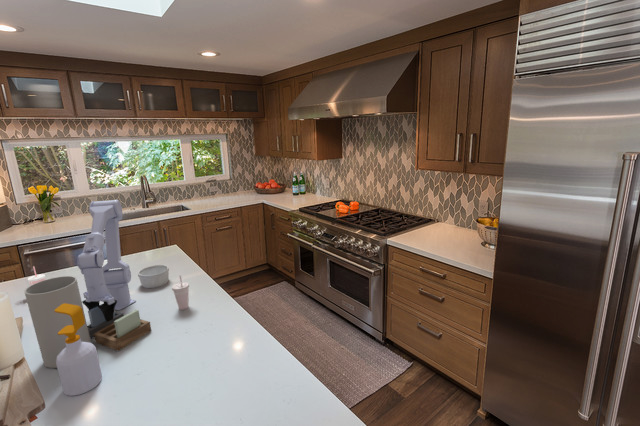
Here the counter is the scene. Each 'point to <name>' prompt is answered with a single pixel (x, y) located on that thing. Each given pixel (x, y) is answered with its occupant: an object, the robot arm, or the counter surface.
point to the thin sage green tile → (127, 323)
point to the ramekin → (154, 276)
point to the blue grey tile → (96, 316)
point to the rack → (110, 340)
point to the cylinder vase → (53, 314)
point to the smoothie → (181, 294)
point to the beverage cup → (36, 278)
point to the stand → (103, 324)
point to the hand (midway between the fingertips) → (103, 318)
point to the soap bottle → (77, 356)
